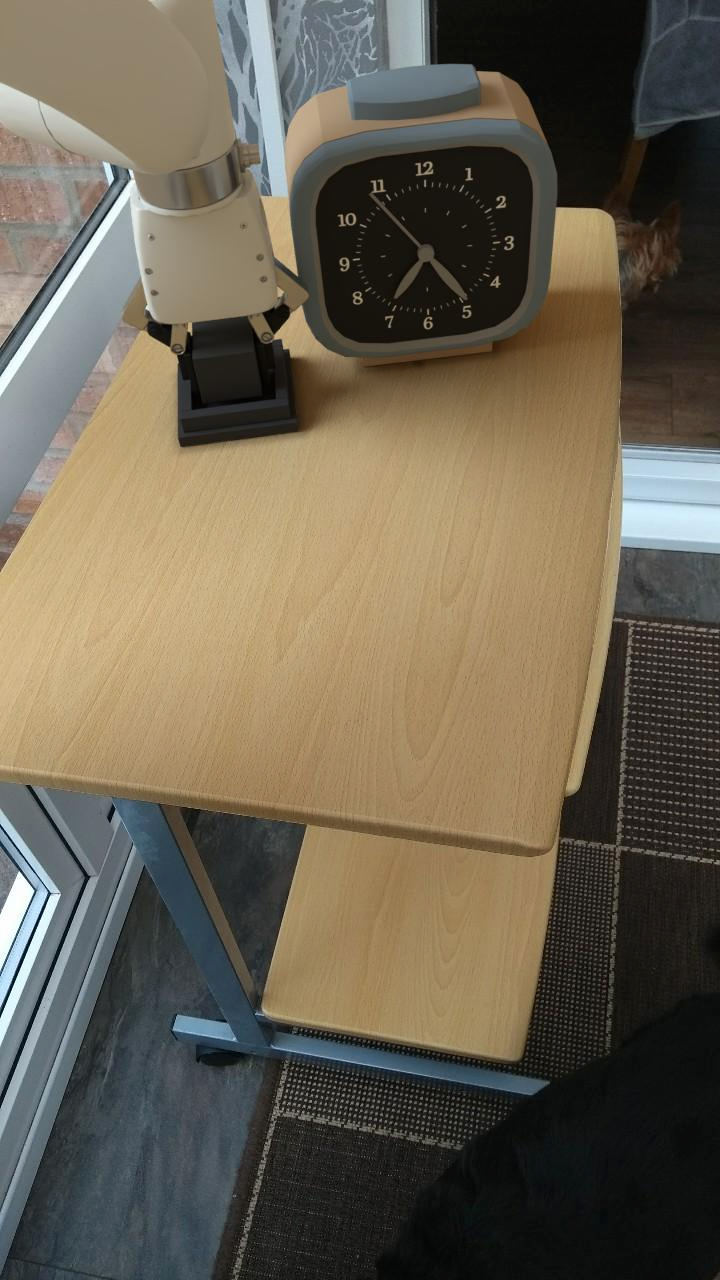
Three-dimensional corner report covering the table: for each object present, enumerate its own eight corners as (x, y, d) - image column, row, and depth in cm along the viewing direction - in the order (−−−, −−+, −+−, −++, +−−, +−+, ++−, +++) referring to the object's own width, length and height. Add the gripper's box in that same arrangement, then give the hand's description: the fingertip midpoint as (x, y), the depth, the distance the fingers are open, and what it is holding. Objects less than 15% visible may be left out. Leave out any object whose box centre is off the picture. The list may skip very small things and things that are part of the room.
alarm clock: (312, 380, 89) (278, 133, 72) (305, 315, 95) (272, 72, 78) (545, 352, 89) (567, 98, 72) (524, 289, 95) (540, 40, 78)
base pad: (180, 447, 85) (173, 423, 83) (179, 372, 91) (173, 349, 89) (299, 431, 85) (295, 407, 83) (290, 357, 91) (287, 334, 89)
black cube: (203, 404, 85) (192, 359, 81) (202, 366, 88) (191, 322, 84) (262, 396, 85) (254, 351, 81) (259, 359, 88) (251, 314, 84)
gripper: (303, 129, 74) (327, 339, 89) (70, 158, 74) (132, 364, 88) (312, 181, 70) (335, 394, 84) (63, 213, 69) (130, 421, 84)
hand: (231, 377), depth 86 cm, fingers closed on black cube, 5 cm apart
